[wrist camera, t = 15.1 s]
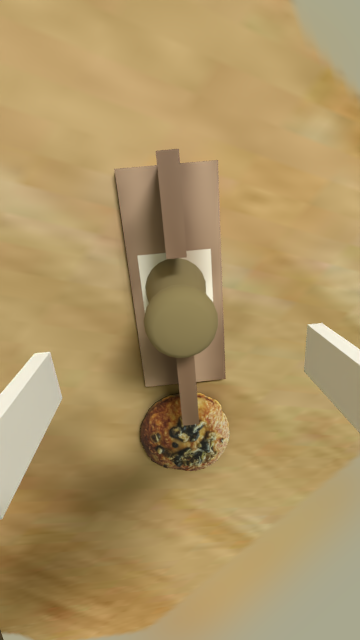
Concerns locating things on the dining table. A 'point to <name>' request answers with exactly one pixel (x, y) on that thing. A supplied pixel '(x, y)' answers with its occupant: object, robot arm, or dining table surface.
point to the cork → (179, 309)
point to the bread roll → (184, 434)
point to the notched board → (169, 243)
